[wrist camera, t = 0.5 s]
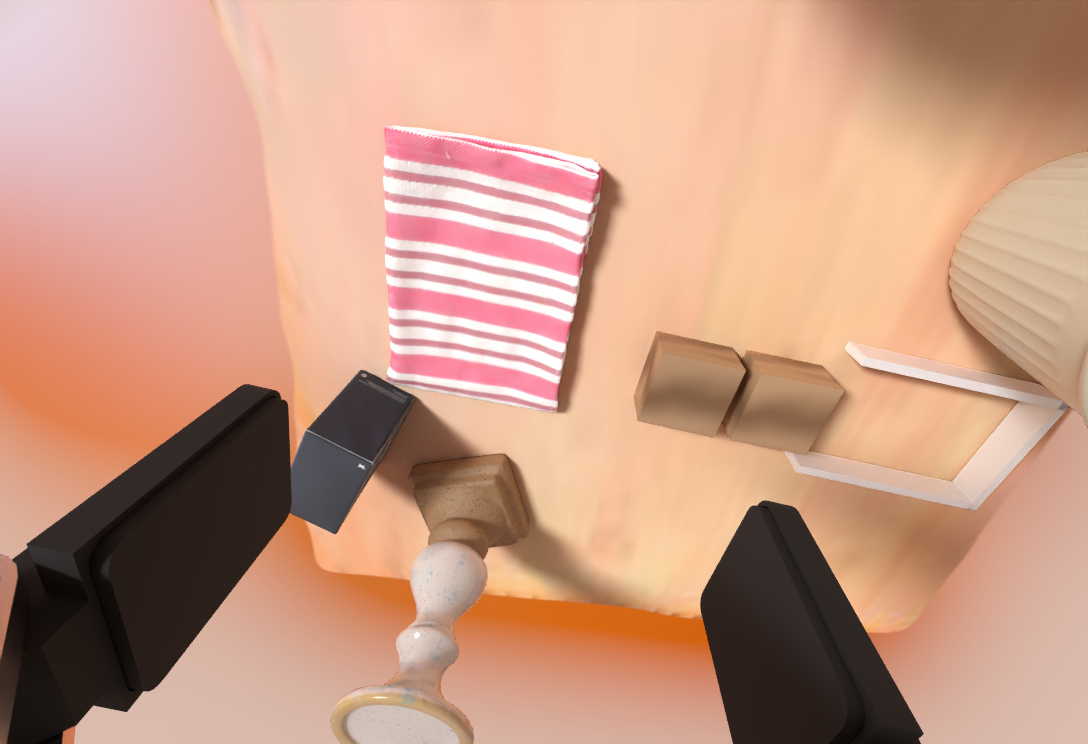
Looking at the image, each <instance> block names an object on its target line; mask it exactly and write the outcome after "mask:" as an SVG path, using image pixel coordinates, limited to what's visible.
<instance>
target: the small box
mask: <svg viewBox="0 0 1088 744" xmlns="http://www.w3.org/2000/svg"><path fill="white" fill-rule="evenodd" d="M414 401H415V398H414V397H413V396H411V395H410V394H408V393H405V392H403V391H402V390H400V389H398V388H396V387H394V386H392V385H390V384H388V383H386V382H384V381H383V380H381V379H379V378H378V377H376V376H374V375H371V374H370V373H367V372H365V371H363V370H360V371H359V373H358V374H357V375H356V376H355V377H354V378H353V379H352V380H351V381H350V383H349V384H348V385H347V386H346V387H345V388H344V389H343V390H342V391H341V393H340V394H339V395H338V396H337V397H336V398H335V399H334V400H333V401H332V402H331V404H330V405H329V406H328V407H327V408H326V409H325V410H324V411H323V412H322V413H321V415H320V416H319V417H318V418H317V419H316V420H315V421H314V422H313V423H312V425H311V426H310V427H309V428H308V429H307V430H306V431H305V434H304V436H303V438H302V441H301V443H300V446H299V448H298V451H297V453H296V456H295V458H294V461H293V463H292V466H291V494H292V505H291V510H290V512H289V513H291V514H293V515H295V516H297V517H300V518H302V519H304V520H306V521H308V522H310V523H312V524H315V525H317V526H319V527H321V528H323V529H325V530H327V531H329V532H331V533H333V534H336V533H337V532H338V531H339V529H340V527H341V525H342V523H343V522H344V520H345V518H346V517H347V515H348V513H349V512H350V510H351V508H352V507H353V505H354V503H355V502H356V500H357V498H358V497H359V495H360V494H361V492H362V490H363V489H364V487H365V486H366V484H367V482H368V481H369V479H370V478H371V476H372V474H373V473H374V471H375V470H376V468H377V467H378V465H379V464H380V462H381V460H382V459H383V457H384V455H385V454H386V452H387V450H388V448H389V446H390V445H391V443H392V441H393V439H394V438H395V436H396V434H397V432H398V430H399V429H400V427H401V425H402V424H403V422H404V420H405V418H406V416H407V414H408V412H409V410H410V408H411V406H412V404H413V403H414Z"/></svg>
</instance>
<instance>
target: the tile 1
mask: <svg viewBox="0 0 1088 744" xmlns="http://www.w3.org/2000/svg"><path fill="white" fill-rule="evenodd" d="M745 372H746V370H745V368H744V367H743V365H742V363H741V362H740V360H739V358H738V357H737V355H736V353H735V352H734V350H733V348H731V347H726V346H722V345H717V344H713V343H708V342H704V341H699V340H695V339H690V338H685V337H681V336H676V335H672V334H667V333H663V332H658V331H656V334H655V337H654V340H653V343H652V346H651V348H650V351H649V354H648V357H647V360H646V363H645V365H644V368H643V371H642V374H641V377H640V380H639V382H638V385H637V388H636V391H635V394H634V400H635V406H636V413H637V419H638V421H640V422H644V423H649V424H654V425H658V426H663V427H667V428H672V429H677V430H681V431H686V432H690V433H695V434H700V435H704V436H709V437H715V435H716V433H717V431H718V428H719V426H720V424H721V422H722V420H723V418H724V416H725V414H726V412H727V410H728V407H729V405H730V403H731V401H732V399H733V397H734V395H735V393H736V391H737V389H738V386H739V384H740V382H741V380H742V378H743V376H744V374H745Z"/></svg>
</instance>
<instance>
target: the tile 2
mask: <svg viewBox="0 0 1088 744" xmlns="http://www.w3.org/2000/svg"><path fill="white" fill-rule="evenodd" d="M741 363H742V365H743V367H744V368H745V370H746V372H745V374H744V376H743V378H742V380H741V382H740V384H739V386H738V389H737V391H736V393H735V395H734V397H733V399H732V401H731V403H730V405H729V407H728V410H727V412H726V414H725V416H724V418H723V420H722V423H723V425H724V428H725V430H726V432H727V435H728V437H729V439H730V440H732V441H737V442H741V443H746V444H751V445H756V446H761V447H766V448H771V449H776V450H781V451H786V452H791V453H796V454H800V455H805V456H806V454H807V453H808V451H809V449H810V448H811V446H812V444H813V443H814V441H815V439H816V438H817V436H818V434H819V433H820V431H821V429H822V428H823V426H824V424H825V422H826V421H827V419H828V417H829V416H830V414H831V412H832V411H833V409H834V407H835V406H836V404H837V402H838V401H839V399H840V397H841V396H842V394H843V392H844V391H845V390H844V389H843V388H842V387H841V386H840V385H839V384H838V383H837V382H836V380H835V379H834V378H833V377H832V376H831V375H830V374H829V373H828V372H827V371H826V369H825V368H824V367H823V366H821V365H816V364H812V363H807V362H802V361H797V360H792V359H788V358H783V357H778V356H773V355H769V354H764V353H759V352H754V351H749V350H746V353H745V355H744V357H743V359H742V361H741Z"/></svg>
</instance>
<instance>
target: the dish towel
mask: <svg viewBox="0 0 1088 744" xmlns="http://www.w3.org/2000/svg"><path fill="white" fill-rule="evenodd" d="M385 142H386V153H385V157H384V177H383V179H384V191H385V199H384V201H385V209H386V218H387V231H386V238H385V247H386V253H385V263H386V269H387V275H386V276H387V284H388V293H389V332H390V346H391V364H390V366H389V369H388V372H387V377H386V380H387V381H388V382H389V383H391V384H394V385H399V386H406V387H411V388H415V389H421V390H427V391H432V392H438V393H443V394H449V395H455V396H461V397H465V398H471V399H476V400H483V401H488V402H494V403H498V404H504V405H510V406H517V407H522V408H527V409H533V410H539V411H545V412H556V411H557V407H558V399H557V397H558V390H559V383H560V378H561V375H562V370H563V365H564V361H565V355H566V350H567V342H568V339H569V335H570V331H569V329H570V324H571V322H572V321H573V317H574V308H575V306H576V303H577V295H578V293H579V286H580V278H581V275H582V272H583V259H584V257H585V256H586V255H587V252H588V248H589V239H590V238H591V236H592V233H593V223H594V220H595V216H596V213H597V211H596V209H597V205H598V203H599V199H600V188H601V181H602V168H601V166H600V164H599V163H598V162H596V161H595V159H589V158H583V157H578V156H573V155H569V154H565V153H561V152H558V151H554V150H549V149H544V148H540V147H534V146H527V145H521V144H515V143H509V142H503V141H499V140H493V139H488V138H484V137H478V136H473V135H466V134H460V133H451V132H442V131H436V130H430V129H424V128H409V127H401V126H394V125H385Z"/></svg>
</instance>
